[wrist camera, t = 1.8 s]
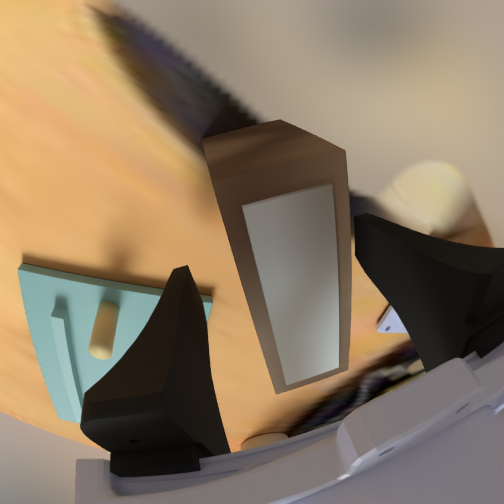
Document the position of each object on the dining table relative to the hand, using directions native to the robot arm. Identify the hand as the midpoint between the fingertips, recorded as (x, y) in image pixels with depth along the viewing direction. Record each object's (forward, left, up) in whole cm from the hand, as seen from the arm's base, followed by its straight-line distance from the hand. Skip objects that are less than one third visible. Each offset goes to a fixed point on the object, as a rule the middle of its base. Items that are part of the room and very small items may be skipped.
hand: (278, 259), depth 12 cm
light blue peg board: (+7, +13, -3) cm, 15 cm away
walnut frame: (0, 0, -3) cm, 3 cm away
